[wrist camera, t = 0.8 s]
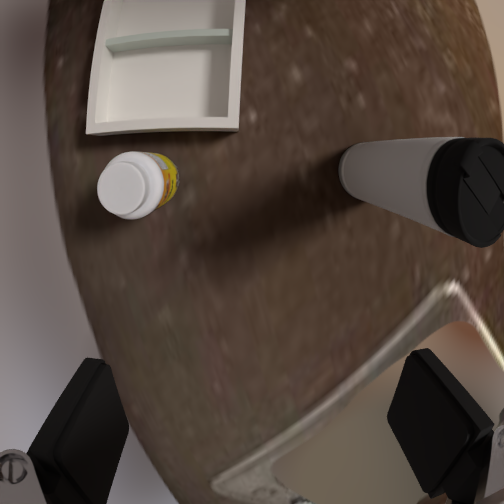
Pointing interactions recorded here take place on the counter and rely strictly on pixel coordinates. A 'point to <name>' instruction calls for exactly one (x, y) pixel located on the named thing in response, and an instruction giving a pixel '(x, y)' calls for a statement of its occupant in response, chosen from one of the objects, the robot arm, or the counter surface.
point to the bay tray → (166, 67)
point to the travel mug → (433, 183)
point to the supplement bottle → (137, 184)
